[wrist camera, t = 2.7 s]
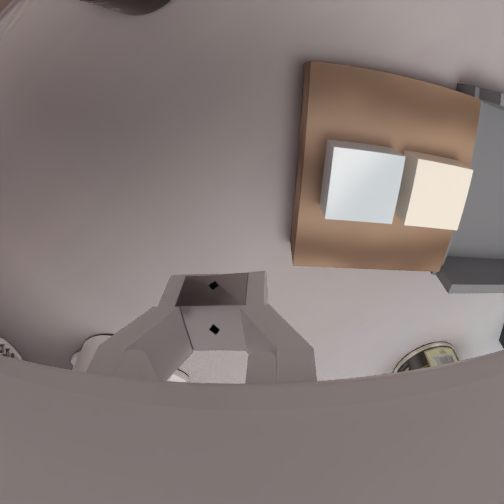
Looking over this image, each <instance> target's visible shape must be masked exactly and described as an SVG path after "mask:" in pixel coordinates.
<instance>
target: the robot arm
mask: <svg viewBox="0 0 504 504" xmlns="http://www.w3.org/2000/svg"><path fill="white" fill-rule="evenodd" d="M202 350H233V351H247V353H248V355H249V356H248V364H247V374H246V383H245V384H223V383H191V382H189V377H188V376H187V375H186V374H185V373H183V372H181V371H179V370H177V369H178V368H179V367H180V366H181V365H182V364H183V363H184V361H185V360H186V359H187V358H188V357H189V356H190V355H191V354H192V353H193V351H202ZM71 363H72V365H73V369H72V370H69V369H63V368H58V367H53V366H47V365H42V364H38V363H33V362H28V361H24V360H19V359H15V358H11V357H7V356H3V355H0V504H504V350H502V351H498V352H495V353H491V354H487V355H483V356H479V357H475V358H471V359H466V360H462V361H457V362H452V363H448V364H443V365H438V366H432V367H427V368H421V369H415V370H409V371H403V372H396V373H390V374H382V375H375V376H366V377H358V378H348V379H338V380H327V381H317V377H316V367H315V357H314V349H313V348H312V347H311V346H310V345H309V344H308V343H307V342H306V341H305V340H304V339H303V338H302V337H301V336H300V335H299V334H298V333H297V332H296V331H295V330H294V329H293V328H292V327H291V326H290V325H289V324H288V323H287V322H286V321H285V320H284V319H283V318H282V317H281V316H280V315H279V314H278V313H277V312H276V311H275V310H274V309H273V308H272V307H271V306H270V305H269V301H268V288H267V276H266V272H265V271H258V272H249V273H233V274H188V275H173V276H171V277H170V279H169V281H168V284H167V286H166V288H165V291H164V293H163V295H162V298H161V300H160V302H159V305H158V307H152V308H151V309H149V310H148V311H147V312H145V313H144V314H142V315H141V316H140V317H138V318H137V319H135V320H134V321H132V322H131V323H130V324H128V325H127V326H125V327H124V328H123V329H121V330H120V331H118V332H117V333H116V334H114V335H113V336H108V335H100V336H94V337H91V338H89V339H88V340H86V341H85V343H84V344H83V346H82V349H81V351H80V352H77V353H75V354H74V355H73V356H72V359H71Z"/></svg>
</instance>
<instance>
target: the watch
mask: <svg viewBox="0 0 504 504" xmlns="http://www.w3.org/2000/svg"><path fill="white" fill-rule="evenodd" d="M499 341H500V343H501V345H502V346H503V348H504V326H503V329H502V333H501V336H500V339H499Z"/></svg>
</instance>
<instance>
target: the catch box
mask: <svg viewBox="0 0 504 504" xmlns="http://www.w3.org/2000/svg"><path fill="white" fill-rule="evenodd" d="M457 91H458V92H461V93H464V94H467V95H470V96H473V97H476V98H478V99H481V106H480V114H479V121H478V127H477V133H476V139H475V145H474V150H473V155H472V160H471V165H470V168H471V169H473V174H472V178H471V183H470V187H469V191H468V195H467V198H466V202H465V206H464V209H463V213H462V216H461V220H460V223H459V226H458V229H457V230H453V233H452V236H451V239H450V242H449V245H448V248H447V251H446V254H445V257H444V260H443V263H442V265H441V268H440V271H439V272H434V271H430V272H431V274H435V275H437V277H438V278H439V280H440V281H441V283H442V284H443V286H444V288H445V289H446V291H447V292H448V293H504V94H503V93H500V92H495V91H491V90H486V89H481V88H478V87H475V86H469V85H463V84H458V85H457Z"/></svg>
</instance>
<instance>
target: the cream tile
mask: <svg viewBox="0 0 504 504" xmlns="http://www.w3.org/2000/svg"><path fill="white" fill-rule="evenodd" d="M404 156H405V163H404V169H403V174H402V179H401V184H400V189H399V194H398V199H397V204H396V208H395V214H396V216H397V217H398V218H399V219H400V221H401V222H402V223H403V225H407V226H418V227H428V228H438V229H448V230H457V229H458V226H459V223H460V220H461V216H462V213H463V209H464V206H465V202H466V198H467V195H468V191H469V187H470V183H471V178H472V174H473V169H471V168H469V167H468V166H466V165H464V164H463V163H461V162H459V161H458V160H454V159H449V158H445V157H440V156H435V155H430V154H425V153H420V152H414V151H409V150H404Z"/></svg>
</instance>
